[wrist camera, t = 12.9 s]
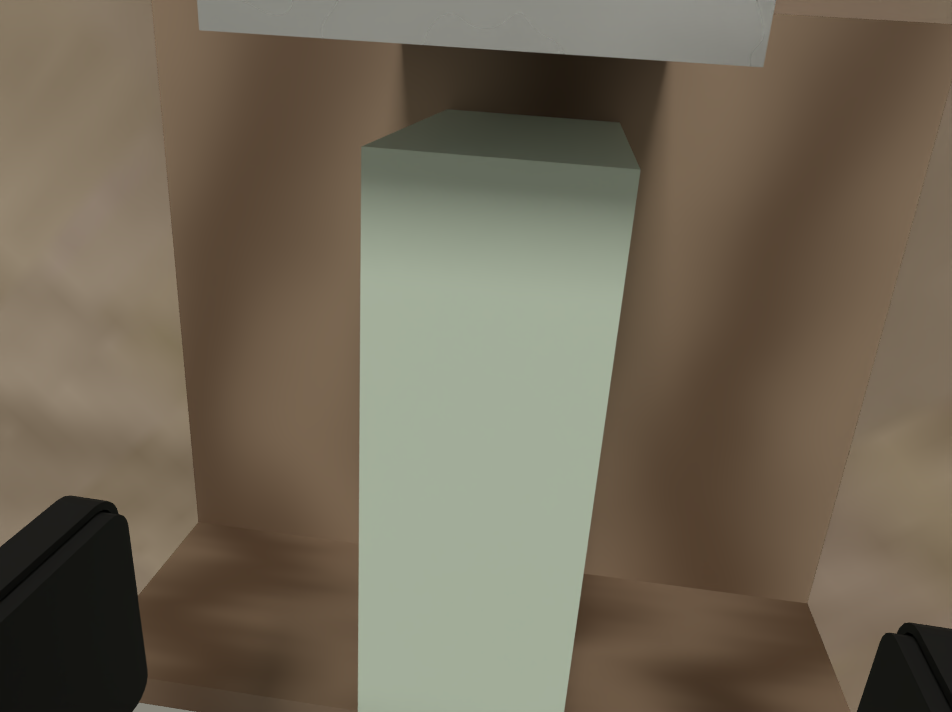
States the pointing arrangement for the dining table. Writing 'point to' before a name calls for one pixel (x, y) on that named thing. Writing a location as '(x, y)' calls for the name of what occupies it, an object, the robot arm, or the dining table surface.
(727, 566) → the shelf
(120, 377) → the dining table surface
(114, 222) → the dining table surface
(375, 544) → the book
